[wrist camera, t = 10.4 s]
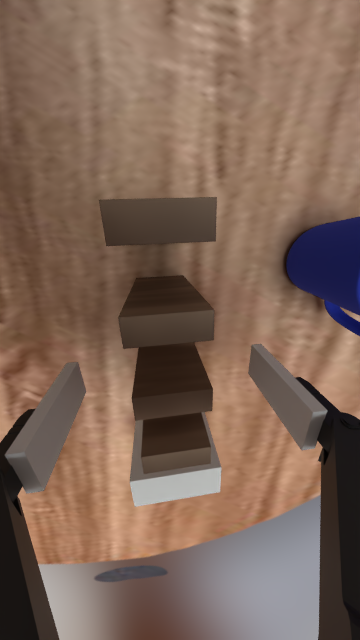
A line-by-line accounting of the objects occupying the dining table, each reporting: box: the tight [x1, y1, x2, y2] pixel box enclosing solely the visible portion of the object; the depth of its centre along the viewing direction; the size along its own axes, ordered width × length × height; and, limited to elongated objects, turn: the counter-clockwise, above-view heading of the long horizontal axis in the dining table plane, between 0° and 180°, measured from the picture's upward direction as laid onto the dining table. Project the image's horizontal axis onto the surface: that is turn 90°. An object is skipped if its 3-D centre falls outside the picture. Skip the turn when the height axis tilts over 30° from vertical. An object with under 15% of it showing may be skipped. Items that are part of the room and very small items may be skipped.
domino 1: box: [99, 197, 217, 246], centre depth 14 cm, size 2×5×12 cm, turn 92°
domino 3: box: [132, 342, 213, 421], centre depth 18 cm, size 2×5×12 cm, turn 92°
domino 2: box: [118, 276, 214, 349], centre depth 16 cm, size 2×5×12 cm, turn 92°
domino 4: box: [141, 412, 211, 474], centre depth 20 cm, size 2×5×12 cm, turn 92°
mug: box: [286, 217, 360, 336], centre depth 19 cm, size 8×12×10 cm
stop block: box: [130, 412, 221, 507], centre depth 25 cm, size 4×9×9 cm, turn 92°
